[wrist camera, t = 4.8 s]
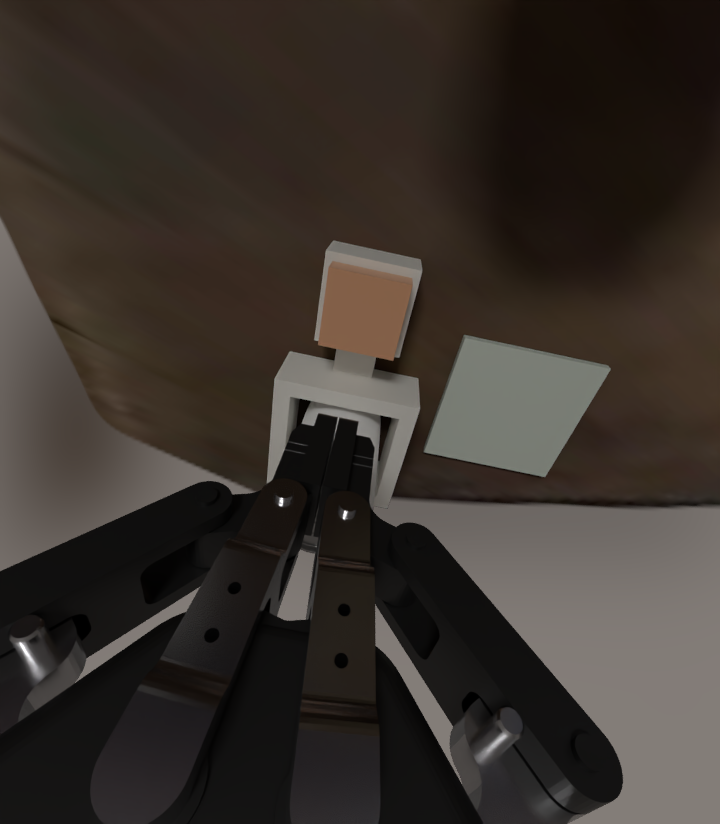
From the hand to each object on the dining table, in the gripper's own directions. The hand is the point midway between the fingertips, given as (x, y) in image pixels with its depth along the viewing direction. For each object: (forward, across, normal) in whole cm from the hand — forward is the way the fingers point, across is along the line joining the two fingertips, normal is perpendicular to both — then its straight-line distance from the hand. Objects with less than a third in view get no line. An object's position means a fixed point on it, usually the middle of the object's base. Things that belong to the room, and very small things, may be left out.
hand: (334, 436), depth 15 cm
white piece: (+17, 0, +6) cm, 18 cm away
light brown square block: (+17, 0, 0) cm, 17 cm away
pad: (+17, -13, +7) cm, 22 cm away
